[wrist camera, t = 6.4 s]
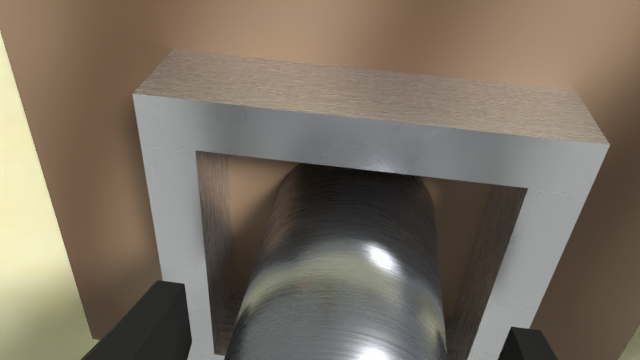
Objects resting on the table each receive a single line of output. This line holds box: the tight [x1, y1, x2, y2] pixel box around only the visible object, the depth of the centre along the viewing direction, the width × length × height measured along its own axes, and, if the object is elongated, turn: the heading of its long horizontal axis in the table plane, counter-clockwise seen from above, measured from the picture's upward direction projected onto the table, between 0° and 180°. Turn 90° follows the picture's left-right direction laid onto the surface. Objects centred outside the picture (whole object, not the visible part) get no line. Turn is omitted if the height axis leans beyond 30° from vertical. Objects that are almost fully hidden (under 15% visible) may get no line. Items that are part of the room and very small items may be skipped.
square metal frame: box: [132, 50, 610, 360], centre depth 14 cm, size 9×9×2 cm
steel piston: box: [224, 163, 447, 360], centre depth 12 cm, size 4×4×7 cm
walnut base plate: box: [0, 0, 640, 360], centre depth 15 cm, size 18×14×1 cm
